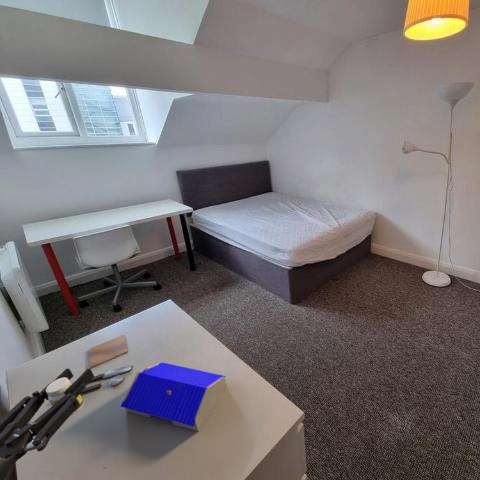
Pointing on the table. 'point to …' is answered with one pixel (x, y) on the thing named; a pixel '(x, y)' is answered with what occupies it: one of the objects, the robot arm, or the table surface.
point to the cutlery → (113, 382)
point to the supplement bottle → (60, 392)
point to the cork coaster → (107, 351)
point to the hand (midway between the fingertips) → (80, 372)
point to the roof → (174, 394)
